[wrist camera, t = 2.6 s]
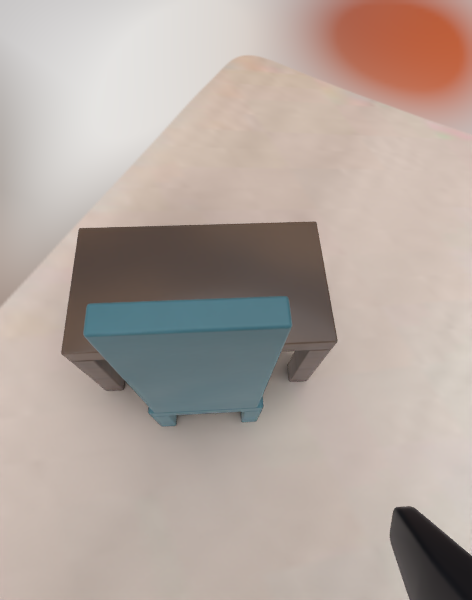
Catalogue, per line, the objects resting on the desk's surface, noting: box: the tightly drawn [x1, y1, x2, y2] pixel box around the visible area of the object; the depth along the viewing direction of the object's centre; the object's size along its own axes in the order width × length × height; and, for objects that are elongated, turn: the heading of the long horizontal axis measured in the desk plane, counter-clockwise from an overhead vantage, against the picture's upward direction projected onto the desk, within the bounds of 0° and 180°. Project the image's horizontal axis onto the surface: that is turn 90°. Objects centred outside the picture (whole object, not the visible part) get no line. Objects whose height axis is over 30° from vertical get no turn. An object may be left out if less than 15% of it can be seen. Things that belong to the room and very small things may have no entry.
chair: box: [83, 296, 292, 426], centre depth 15 cm, size 5×5×14 cm
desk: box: [61, 222, 337, 391], centre depth 20 cm, size 6×11×6 cm, turn 93°
